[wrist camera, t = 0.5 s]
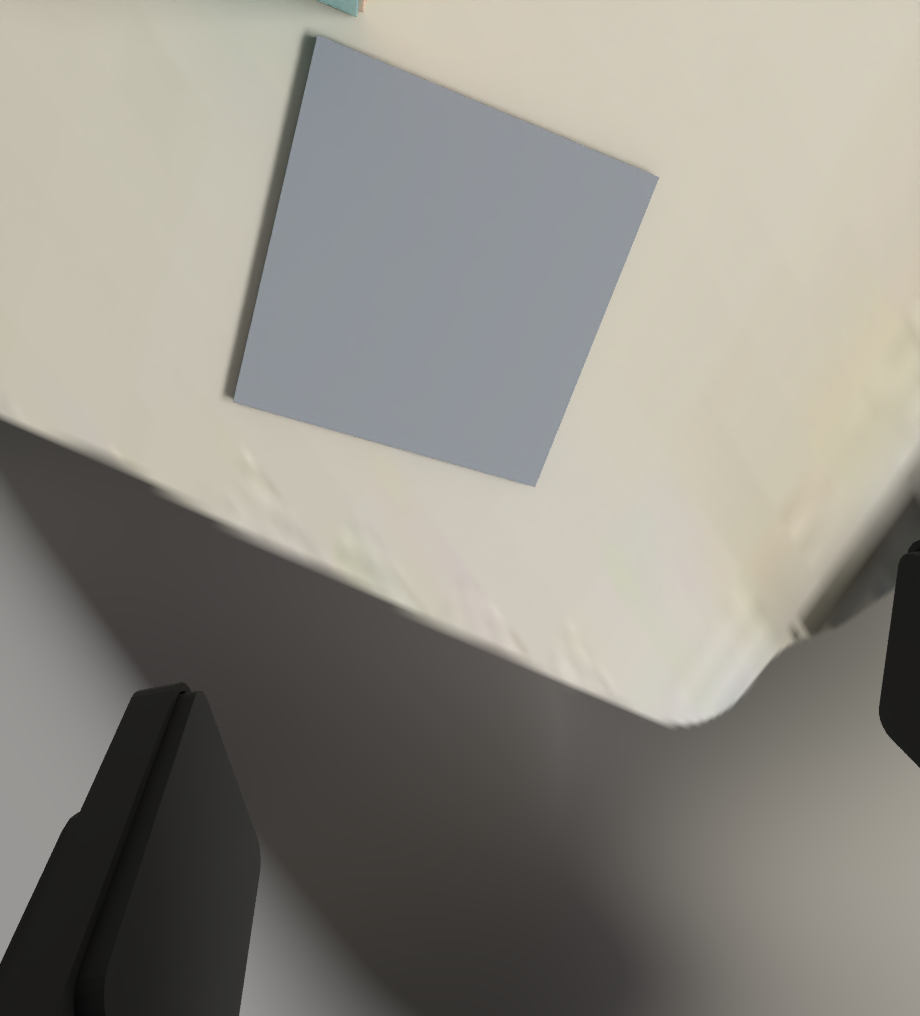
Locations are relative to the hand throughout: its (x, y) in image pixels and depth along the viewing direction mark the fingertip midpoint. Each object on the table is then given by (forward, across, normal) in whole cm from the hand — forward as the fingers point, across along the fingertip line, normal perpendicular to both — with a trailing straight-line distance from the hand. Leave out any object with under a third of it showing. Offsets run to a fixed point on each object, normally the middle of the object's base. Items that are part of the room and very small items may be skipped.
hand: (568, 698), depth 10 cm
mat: (+28, -2, -2) cm, 28 cm away
